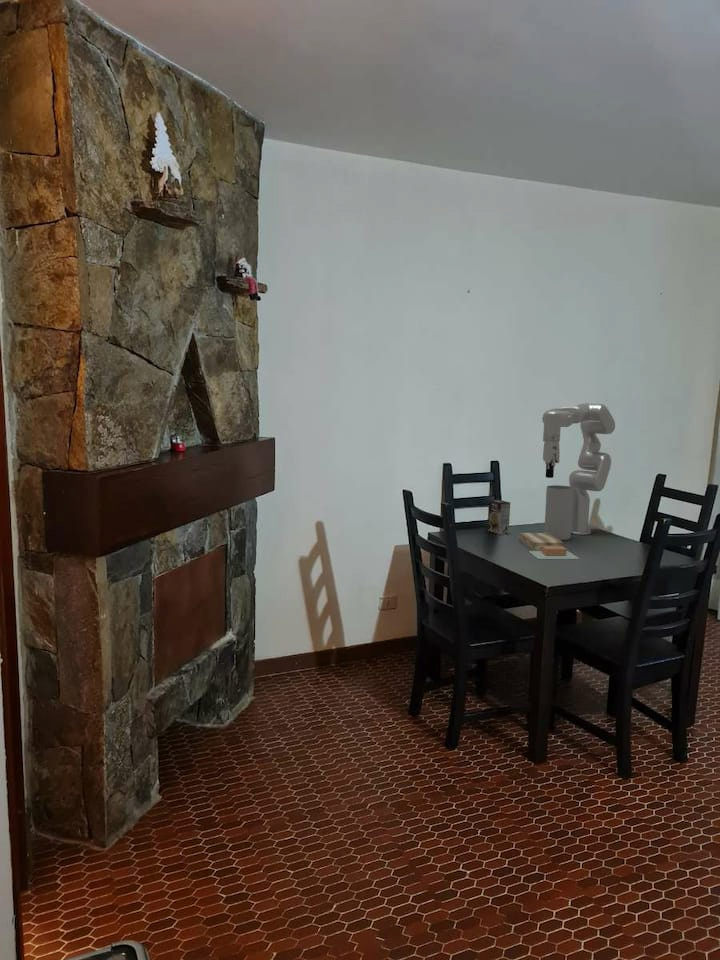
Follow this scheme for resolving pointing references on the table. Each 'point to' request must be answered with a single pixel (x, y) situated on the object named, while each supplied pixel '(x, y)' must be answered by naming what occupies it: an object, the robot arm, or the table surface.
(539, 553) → the mat
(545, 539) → the board
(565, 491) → the cylinder vase
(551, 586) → the table surface
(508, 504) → the coffee box
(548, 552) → the thick terracotta block
